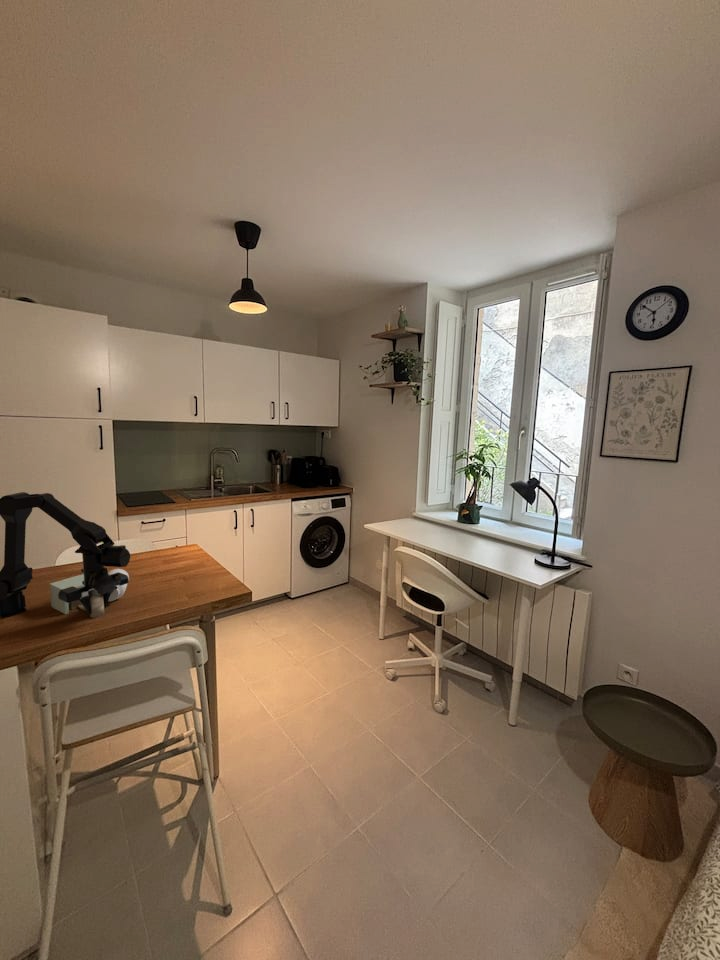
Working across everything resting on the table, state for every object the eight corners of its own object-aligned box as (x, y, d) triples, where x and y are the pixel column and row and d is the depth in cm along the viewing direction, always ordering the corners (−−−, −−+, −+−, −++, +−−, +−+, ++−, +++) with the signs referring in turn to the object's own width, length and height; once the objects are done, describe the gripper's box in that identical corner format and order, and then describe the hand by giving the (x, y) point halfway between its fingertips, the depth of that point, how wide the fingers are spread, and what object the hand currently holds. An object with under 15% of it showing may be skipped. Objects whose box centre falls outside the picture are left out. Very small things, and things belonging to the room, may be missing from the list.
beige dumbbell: (92, 619, 126) (91, 601, 126) (64, 605, 135) (63, 589, 134) (108, 613, 131) (107, 596, 130) (80, 600, 139) (79, 584, 138)
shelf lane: (66, 614, 129) (64, 590, 128) (51, 607, 134) (49, 583, 133) (100, 602, 138) (99, 580, 137) (85, 595, 143) (83, 573, 142)
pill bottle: (105, 589, 148) (96, 606, 135) (104, 569, 147) (96, 584, 134) (129, 587, 152) (123, 603, 138) (129, 567, 151) (123, 581, 137)
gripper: (74, 580, 115) (78, 630, 117) (137, 562, 131) (139, 606, 134) (55, 572, 121) (59, 620, 123) (118, 555, 137) (120, 598, 139)
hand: (96, 611), depth 129 cm, fingers closed on beige dumbbell, 4 cm apart
